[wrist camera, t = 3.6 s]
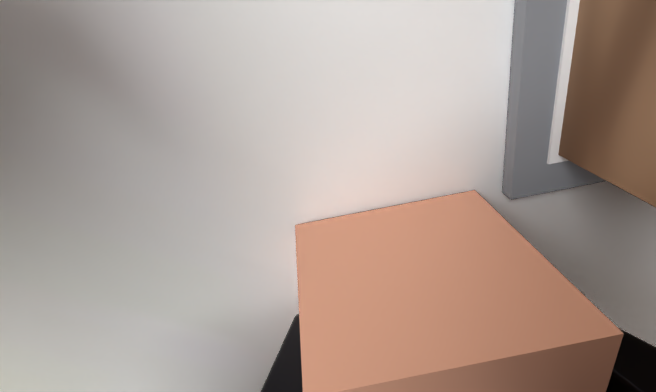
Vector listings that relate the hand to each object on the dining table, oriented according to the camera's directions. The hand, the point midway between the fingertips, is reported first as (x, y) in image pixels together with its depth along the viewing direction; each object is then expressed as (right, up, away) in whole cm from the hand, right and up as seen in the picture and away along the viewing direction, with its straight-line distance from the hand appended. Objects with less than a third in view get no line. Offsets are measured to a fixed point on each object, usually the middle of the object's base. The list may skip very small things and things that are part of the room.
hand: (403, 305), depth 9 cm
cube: (0, 0, +1) cm, 1 cm away
